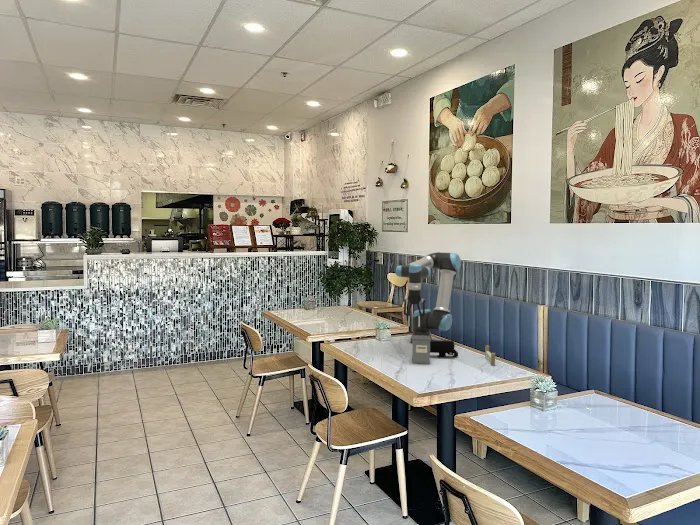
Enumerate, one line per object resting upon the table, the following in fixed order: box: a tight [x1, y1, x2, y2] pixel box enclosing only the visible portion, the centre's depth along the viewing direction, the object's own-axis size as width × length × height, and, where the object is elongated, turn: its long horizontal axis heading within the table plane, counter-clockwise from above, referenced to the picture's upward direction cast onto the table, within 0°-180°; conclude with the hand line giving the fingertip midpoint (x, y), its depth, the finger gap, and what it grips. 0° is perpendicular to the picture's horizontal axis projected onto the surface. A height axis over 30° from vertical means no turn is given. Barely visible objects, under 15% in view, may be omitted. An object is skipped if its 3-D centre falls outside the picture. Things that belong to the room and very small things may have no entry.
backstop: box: [484, 345, 496, 367], centre depth 317 cm, size 21×2×7 cm, turn 175°
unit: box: [411, 334, 431, 365], centre depth 314 cm, size 11×11×15 cm
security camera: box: [430, 339, 459, 359], centre depth 326 cm, size 7×18×10 cm, turn 89°
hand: (413, 326), depth 326 cm, fingers open, 6 cm apart
